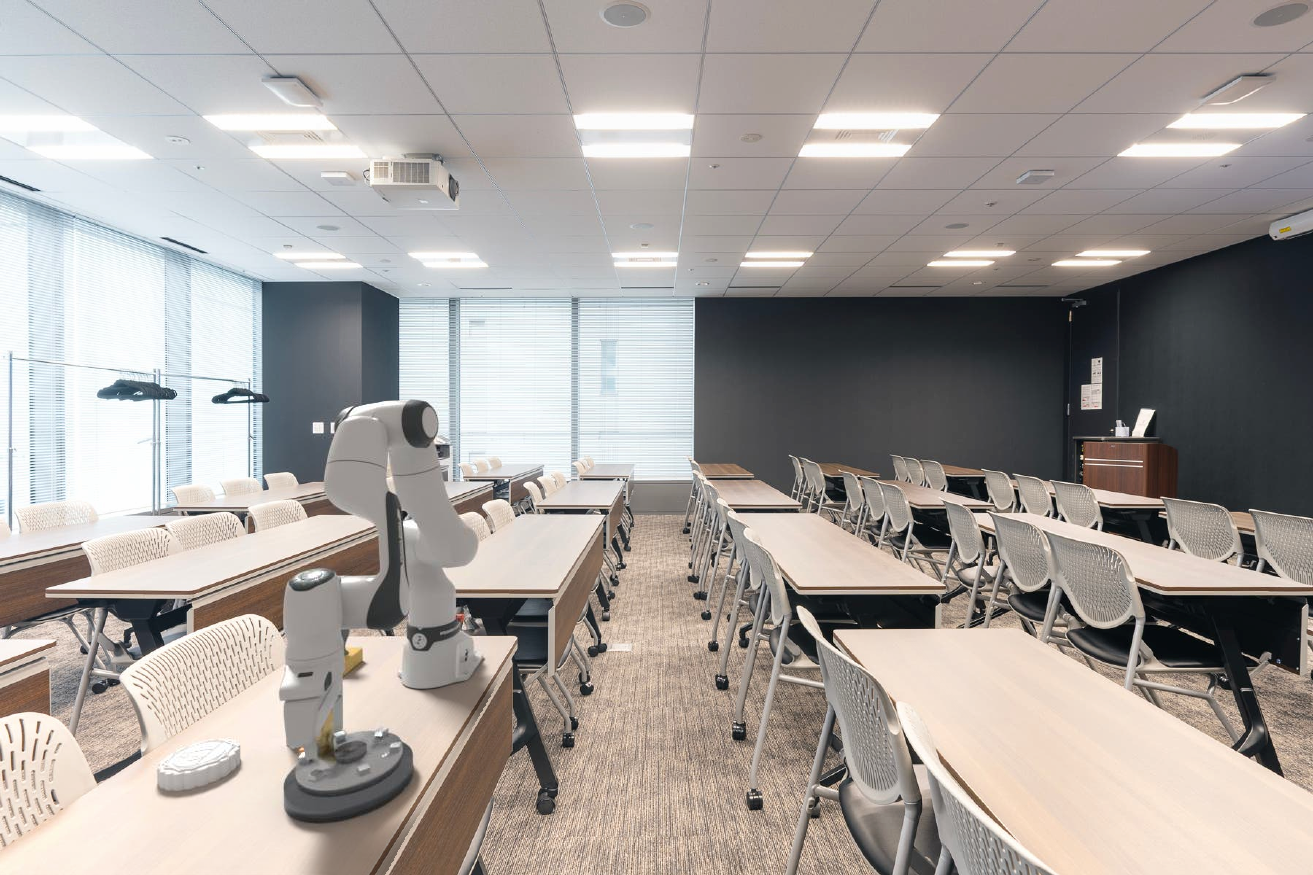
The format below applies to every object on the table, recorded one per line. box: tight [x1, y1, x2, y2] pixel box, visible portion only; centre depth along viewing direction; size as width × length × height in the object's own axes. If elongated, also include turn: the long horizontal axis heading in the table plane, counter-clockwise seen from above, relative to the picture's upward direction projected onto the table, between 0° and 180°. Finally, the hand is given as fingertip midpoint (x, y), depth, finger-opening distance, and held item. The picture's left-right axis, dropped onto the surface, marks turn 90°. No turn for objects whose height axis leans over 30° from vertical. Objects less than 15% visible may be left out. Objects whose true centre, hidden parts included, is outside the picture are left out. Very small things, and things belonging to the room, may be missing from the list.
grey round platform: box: [283, 741, 414, 824], centre depth 104 cm, size 20×20×6 cm
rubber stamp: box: [341, 629, 364, 677], centre depth 153 cm, size 10×6×12 cm, turn 1°
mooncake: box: [156, 737, 241, 792], centre depth 108 cm, size 12×12×4 cm
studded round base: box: [295, 709, 403, 796], centre depth 104 cm, size 17×17×9 cm
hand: (319, 742), depth 103 cm, fingers open, 7 cm apart
